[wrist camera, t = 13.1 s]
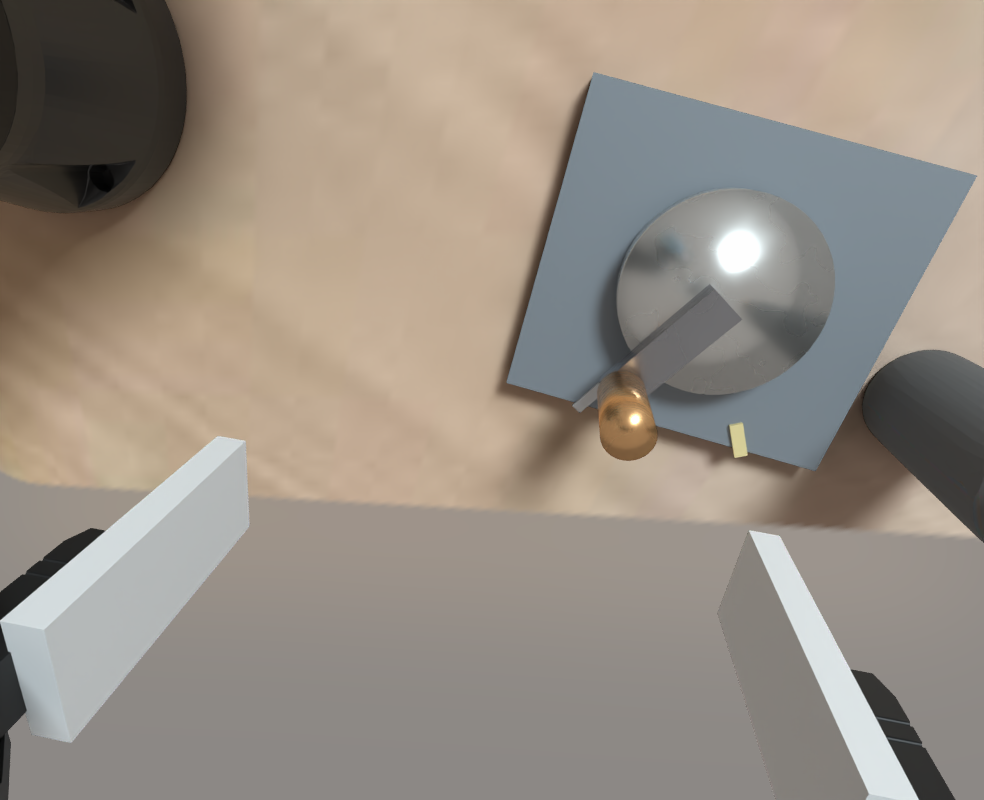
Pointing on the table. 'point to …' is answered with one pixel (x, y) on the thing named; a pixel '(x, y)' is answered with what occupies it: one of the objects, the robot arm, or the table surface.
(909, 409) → the bottle
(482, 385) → the table surface
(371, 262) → the table surface
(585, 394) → the board
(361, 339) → the table surface
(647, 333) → the dial
